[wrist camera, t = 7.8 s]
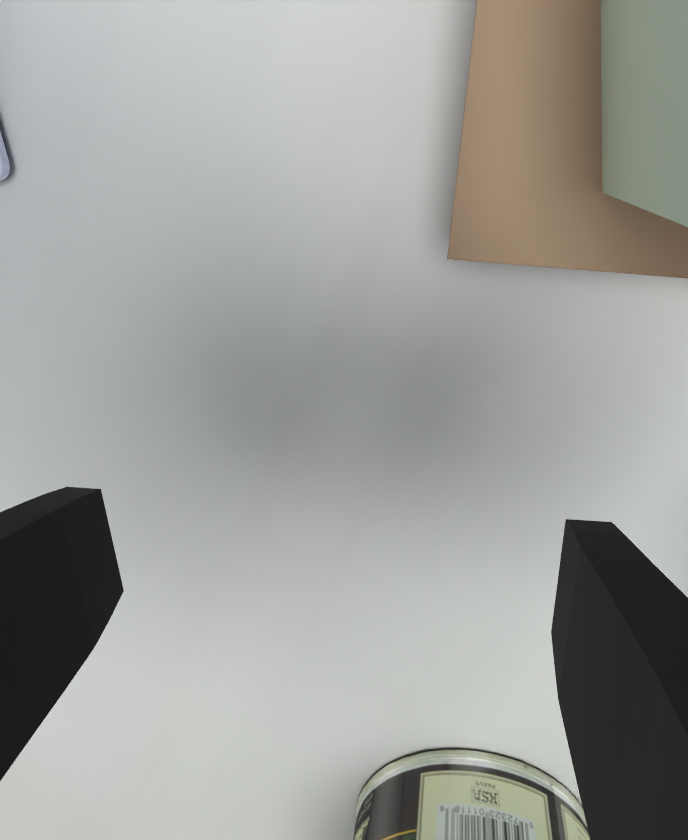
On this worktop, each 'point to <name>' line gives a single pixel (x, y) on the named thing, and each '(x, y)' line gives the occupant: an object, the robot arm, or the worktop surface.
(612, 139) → the green block
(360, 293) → the worktop surface
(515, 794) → the coffee can
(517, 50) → the walnut base
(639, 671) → the robot arm
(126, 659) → the worktop surface
